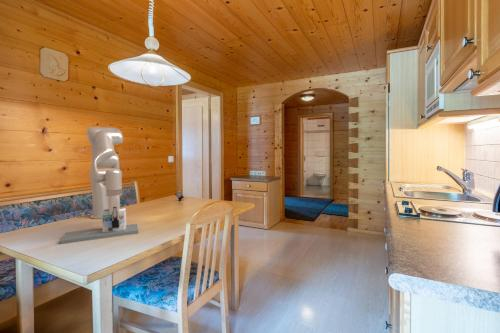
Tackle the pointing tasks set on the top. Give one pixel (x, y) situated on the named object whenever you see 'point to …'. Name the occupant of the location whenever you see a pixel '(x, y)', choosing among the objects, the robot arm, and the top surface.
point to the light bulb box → (108, 220)
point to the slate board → (96, 234)
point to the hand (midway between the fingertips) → (115, 225)
